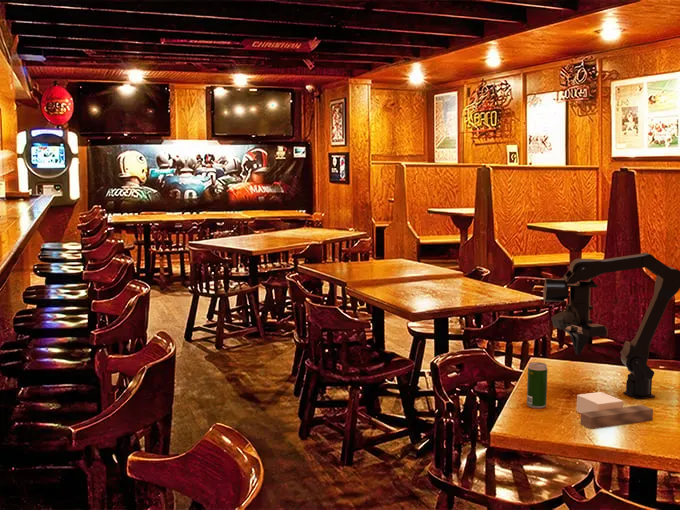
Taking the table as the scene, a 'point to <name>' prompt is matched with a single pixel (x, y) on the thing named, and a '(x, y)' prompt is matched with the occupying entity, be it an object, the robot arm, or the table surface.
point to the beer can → (537, 385)
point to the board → (616, 416)
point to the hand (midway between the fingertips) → (577, 354)
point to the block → (597, 402)
